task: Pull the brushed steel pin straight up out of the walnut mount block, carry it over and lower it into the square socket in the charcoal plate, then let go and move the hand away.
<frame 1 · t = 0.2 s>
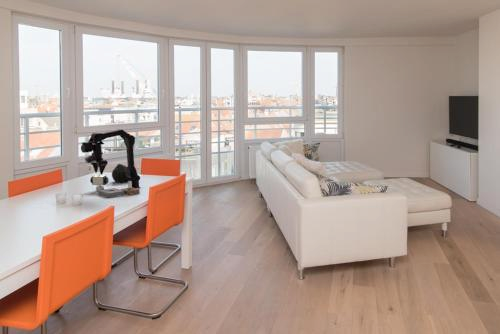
hand: (98, 173, 299), 14 cm above the table, tool pointing down, fingers open, 9 cm apart
steel pin: (129, 187, 302), in the walnut mount
pneumatic valve: (100, 191, 311), on the table
squash: (122, 181, 344), on the table
socket plate: (111, 194, 298), on the table
walnut mount: (130, 193, 302), on the table
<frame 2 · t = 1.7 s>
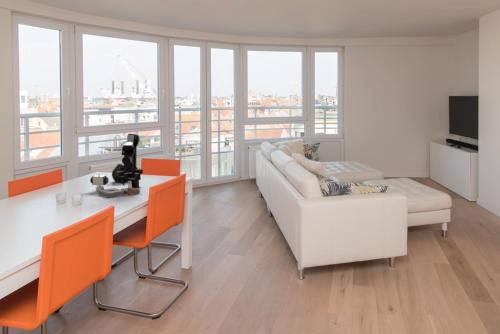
hand: (129, 184, 301), 6 cm above the table, tool pointing down, fingers open, 9 cm apart
nothing on the table moved.
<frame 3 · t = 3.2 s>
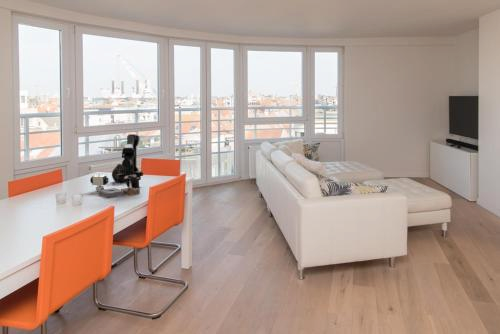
hand: (129, 187, 302), 5 cm above the table, tool pointing down, fingers closed on steel pin, 2 cm apart
steel pin: (129, 187, 302), in the walnut mount, touching gripper
everything else where it was.
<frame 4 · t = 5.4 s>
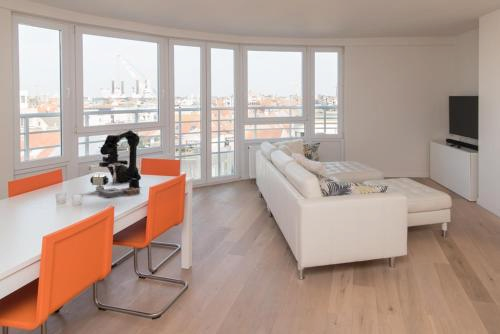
hand: (114, 175, 296), 13 cm above the table, tool pointing down, fingers closed on steel pin, 2 cm apart
steel pin: (114, 176, 296), point 13 cm above the table, touching gripper
everything else where it was.
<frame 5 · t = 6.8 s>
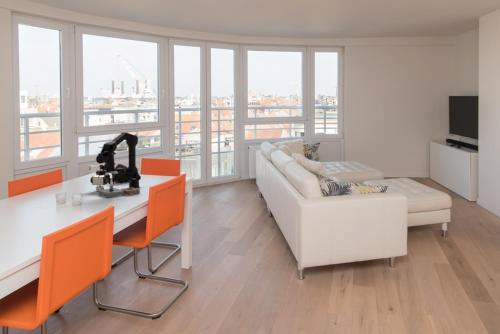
hand: (111, 183, 297), 8 cm above the table, tool pointing down, fingers closed on steel pin, 2 cm apart
steel pin: (111, 184, 297), point 8 cm above the table, touching gripper
everything else where it was.
when the fingers open (5 cm above the table, at t = 8.0 s): steel pin stays where it is, resting in socket plate.
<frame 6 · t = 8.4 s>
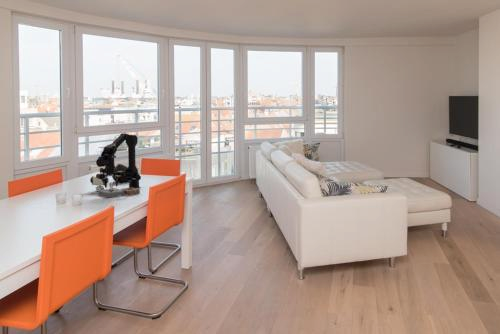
hand: (111, 187, 297), 5 cm above the table, tool pointing down, fingers open, 7 cm apart
steel pin: (111, 188, 297), in the socket plate
everything else where it was.
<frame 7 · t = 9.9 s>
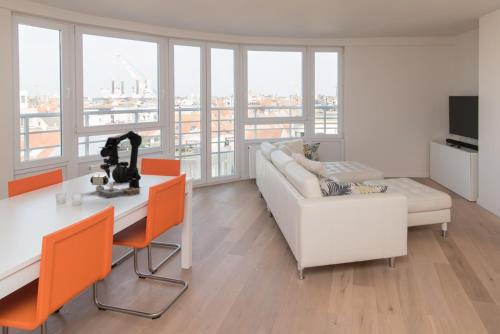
hand: (115, 177, 301), 11 cm above the table, tool pointing down, fingers open, 9 cm apart
nothing on the table moved.
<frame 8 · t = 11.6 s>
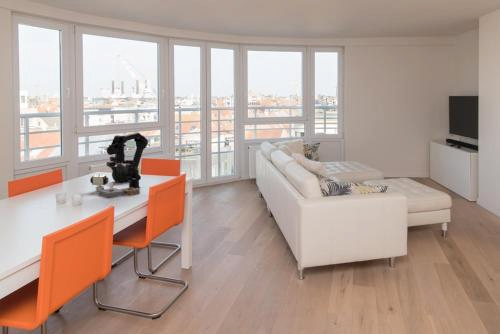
hand: (121, 175, 307), 12 cm above the table, tool pointing down, fingers open, 9 cm apart
nothing on the table moved.
at the end: steel pin 0.1 cm off-centre on the socket plate, point 4.2 cm above the socket plate's base; steel pin tilted 0°; the gripper is holding nothing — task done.
